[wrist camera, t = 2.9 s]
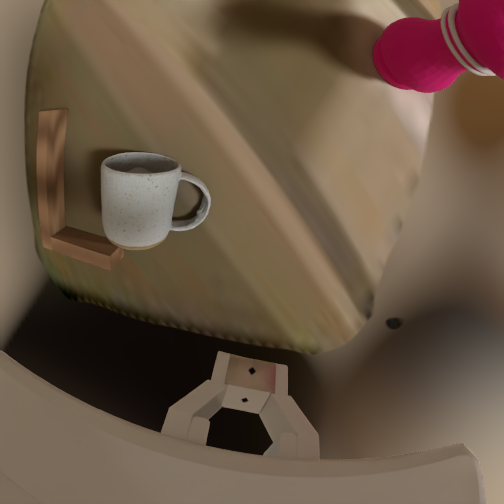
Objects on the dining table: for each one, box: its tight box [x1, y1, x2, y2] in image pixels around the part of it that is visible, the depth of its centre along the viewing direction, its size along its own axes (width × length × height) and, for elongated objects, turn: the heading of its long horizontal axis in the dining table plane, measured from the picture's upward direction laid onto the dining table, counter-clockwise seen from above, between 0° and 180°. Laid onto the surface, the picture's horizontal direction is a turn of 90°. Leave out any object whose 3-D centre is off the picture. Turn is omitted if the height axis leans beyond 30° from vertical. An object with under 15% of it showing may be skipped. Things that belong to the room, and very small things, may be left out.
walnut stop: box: [36, 109, 124, 271], centre depth 26 cm, size 18×12×4 cm, turn 167°
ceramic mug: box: [101, 152, 211, 250], centre depth 25 cm, size 11×8×8 cm
